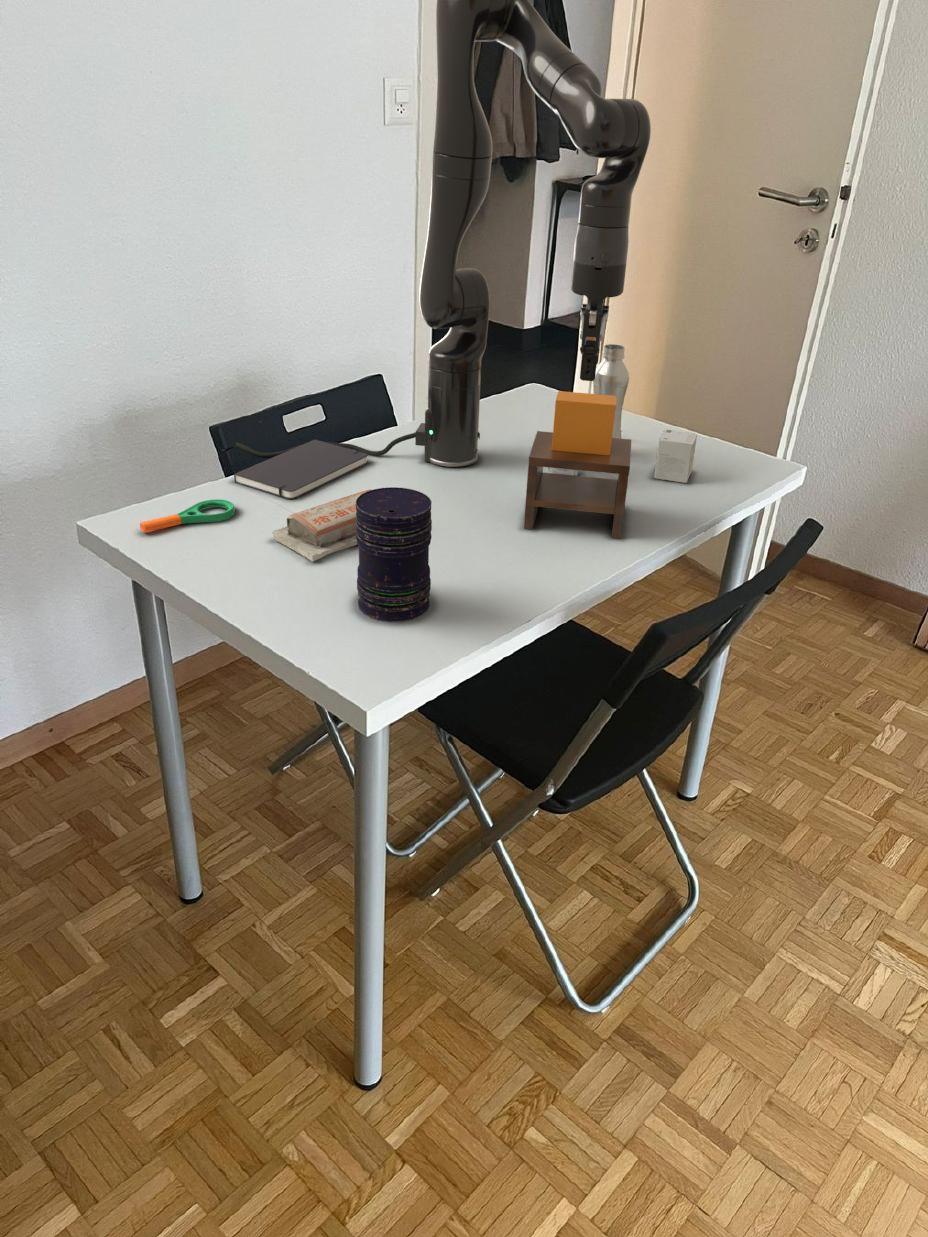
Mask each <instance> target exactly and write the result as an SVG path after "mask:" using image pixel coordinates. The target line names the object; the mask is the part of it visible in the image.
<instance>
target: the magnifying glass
mask: <svg viewBox="0 0 928 1237" xmlns="http://www.w3.org/2000/svg"><path fill="white" fill-rule="evenodd" d="M208 508H223V509H226V511H223V512H218V513H212V514H211V513H204V512H201V510H204V509H208ZM234 515H235V504H234V503H233V502H232V501H230V500H227V499H218V498H217V499H206V500H202V501H199V502H196V503H195V504H193V505H191V506H189V507H188V508H186V509H184V510H182V511H181V512H178V513H176V514H171V515H168V516H162V517H159V518H155V519H150V520H146V521H141V522H140V523H139V528H140V530H141V531H142V532H143V533H145V534H146V533H150V532H153V531H158V530H162V529H166V528H170V527H174V526H179V525H184V524H196V523H213V522H214V523H215V522H220V521H221V522H222V521H224V520H229V519H230V518H232V517H233V516H234Z"/></svg>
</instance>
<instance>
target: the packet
mask: <svg viewBox="0 0 928 1237" xmlns="http://www.w3.org/2000/svg"><path fill="white" fill-rule="evenodd" d="M616 400H617V396H612V395H600V394H594V393H586V392H577V391H576V392H575V391H563V390H558V391H557V395H556V398H555V405H554V414H553V415H554V417H553V427H552V428H553V429H552V432H553V439H552V450H554V451H565V452H576V453H586V454H597V455H608V456H610V452H611V443H612V435H613V426H614V417H615V409H616Z"/></svg>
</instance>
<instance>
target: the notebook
mask: <svg viewBox="0 0 928 1237" xmlns="http://www.w3.org/2000/svg"><path fill="white" fill-rule="evenodd" d="M330 443H331V442H326V441H322V440H319V439H312V440H311V441H308V442H306V443H304V444H300V445H301V446H299V445H297V446H298V447H296V446H295V447H296V448H294V449H291V450H289V451H287V452H284V453H282V454H280V455H277V456H275V457H273V458H267V459H266V460H263V461H261V462H259V463H256V464H254V465H251V466H249V467H247V468H244V469H243V470H240V471H238V472H235V473H234V474H233V479H234V480H233V481H234V483H235V484H239V485H243V486H246V487H248V488H251V489H254V490H258V491H261V492H264V493H268V494H270V495H274V496H277V497H279V498H283V499H287V500H295V499H297V498H299V497H301V496H303V495H305V494H307V493H309V492H311V491H314V490H317V489H318V488H320V487H322V486H324V485H326V484H328V483H330V482H332V481H334V480H336V479H338V478H341V477H342V476H345V475H347V474H348V473H351V472H353V471H355V470H357V469H359V468H361V467H363V466H365V465H367V464H368V463H369V461H368V456H369V455H368V454H366V453H362V452H359V451H356V450H352V449H348V448H344V447H341V446H337V445H333V444H330Z"/></svg>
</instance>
